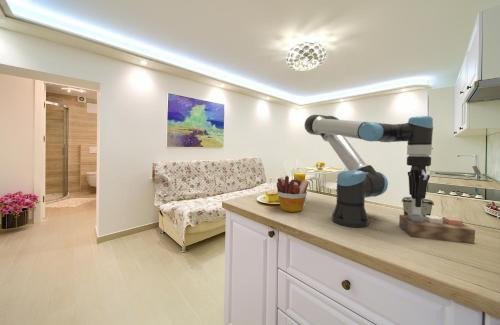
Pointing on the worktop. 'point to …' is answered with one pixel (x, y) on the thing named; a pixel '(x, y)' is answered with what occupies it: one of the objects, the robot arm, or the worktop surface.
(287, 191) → the bucket of meat
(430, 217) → the ivory key
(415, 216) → the slate key
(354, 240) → the worktop surface
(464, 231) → the brown wooden tray
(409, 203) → the food container
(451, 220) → the terracotta key
